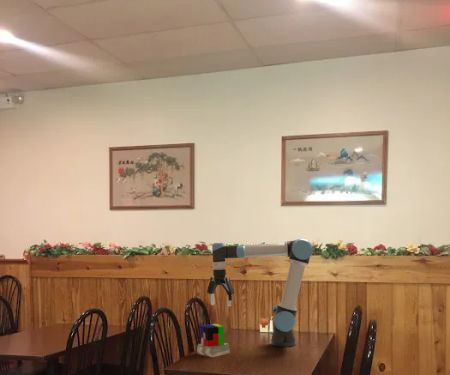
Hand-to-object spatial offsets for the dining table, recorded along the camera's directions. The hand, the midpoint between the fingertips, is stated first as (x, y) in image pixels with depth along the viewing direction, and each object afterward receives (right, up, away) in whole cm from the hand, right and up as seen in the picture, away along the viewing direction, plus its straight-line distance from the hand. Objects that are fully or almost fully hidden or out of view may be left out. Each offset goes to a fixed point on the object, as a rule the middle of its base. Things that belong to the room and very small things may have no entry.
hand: (220, 305), depth 276 cm
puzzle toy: (-5, -19, -11) cm, 23 cm away
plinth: (-4, -24, -11) cm, 27 cm away
